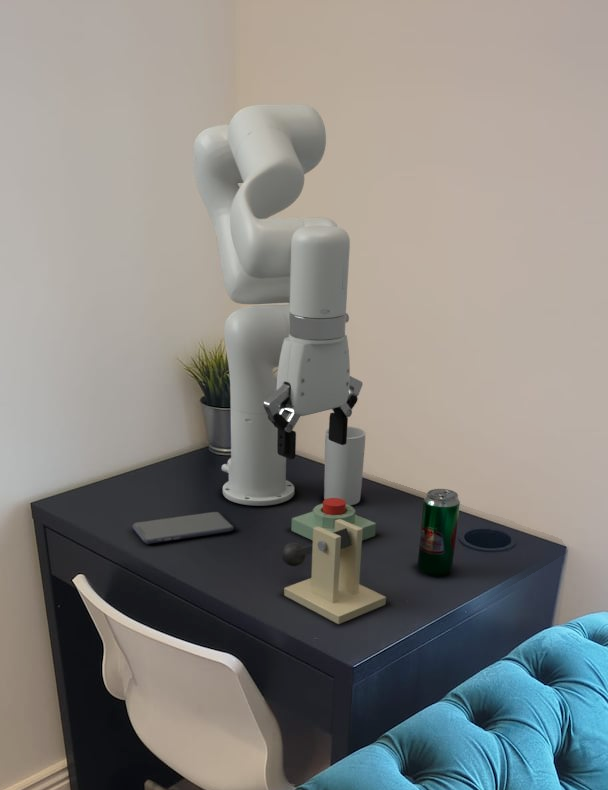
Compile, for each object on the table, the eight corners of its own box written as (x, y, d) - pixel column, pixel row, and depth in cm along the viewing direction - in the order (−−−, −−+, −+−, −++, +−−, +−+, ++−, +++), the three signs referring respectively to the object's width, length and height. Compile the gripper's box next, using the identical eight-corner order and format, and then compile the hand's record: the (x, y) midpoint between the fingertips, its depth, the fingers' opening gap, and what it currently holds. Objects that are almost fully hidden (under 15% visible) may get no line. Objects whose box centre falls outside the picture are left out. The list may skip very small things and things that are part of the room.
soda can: (410, 570, 143) (417, 493, 137) (430, 560, 146) (438, 484, 140) (438, 581, 140) (446, 503, 134) (458, 570, 143) (467, 493, 137)
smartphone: (235, 527, 155) (144, 540, 150) (235, 532, 155) (145, 546, 150) (218, 510, 161) (131, 522, 156) (218, 516, 161) (131, 528, 156)
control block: (291, 530, 156) (291, 507, 154) (331, 517, 161) (332, 494, 159) (334, 550, 149) (335, 526, 147) (375, 535, 154) (376, 512, 152)
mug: (367, 505, 166) (371, 436, 160) (329, 508, 164) (332, 439, 158) (348, 485, 174) (351, 419, 168) (312, 488, 173) (314, 422, 167)
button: (317, 511, 153) (318, 501, 153) (334, 506, 155) (334, 496, 155) (333, 518, 151) (334, 507, 150) (350, 512, 153) (350, 502, 152)
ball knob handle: (281, 570, 139) (274, 548, 139) (299, 564, 141) (291, 542, 141) (338, 553, 128) (330, 529, 128) (356, 547, 130) (348, 523, 130)
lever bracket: (283, 595, 136) (285, 524, 131) (330, 577, 141) (333, 508, 136) (338, 624, 129) (342, 550, 123) (385, 604, 134) (391, 532, 128)
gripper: (345, 313, 137) (338, 430, 146) (249, 330, 128) (248, 455, 136) (383, 323, 132) (374, 444, 141) (285, 341, 123) (282, 470, 131)
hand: (312, 449), depth 138 cm, fingers open, 9 cm apart
